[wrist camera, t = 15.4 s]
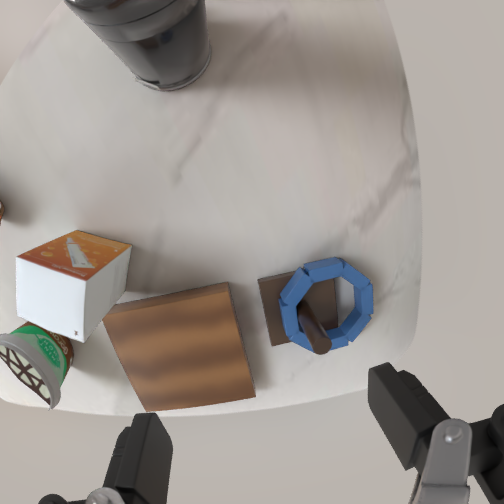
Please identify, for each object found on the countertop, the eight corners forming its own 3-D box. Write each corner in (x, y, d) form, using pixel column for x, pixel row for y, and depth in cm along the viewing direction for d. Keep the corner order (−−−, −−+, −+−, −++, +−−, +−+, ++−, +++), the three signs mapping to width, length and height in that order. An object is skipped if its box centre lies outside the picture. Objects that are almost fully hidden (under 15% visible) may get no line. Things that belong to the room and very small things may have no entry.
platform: (108, 305, 36) (100, 315, 33) (227, 281, 36) (228, 290, 33) (149, 398, 40) (146, 411, 37) (254, 383, 40) (256, 397, 37)
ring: (273, 270, 35) (276, 277, 33) (362, 250, 35) (370, 255, 33) (287, 350, 38) (290, 360, 35) (366, 329, 38) (373, 337, 36)
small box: (133, 243, 34) (87, 280, 21) (125, 292, 35) (85, 345, 23) (75, 228, 33) (14, 255, 20) (70, 275, 34) (16, 317, 22)
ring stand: (257, 279, 36) (269, 317, 26) (329, 262, 36) (363, 293, 27) (270, 341, 39) (283, 391, 29) (335, 325, 39) (365, 368, 29)
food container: (95, 352, 37) (69, 395, 27) (77, 372, 38) (51, 413, 28) (35, 292, 34) (-4, 322, 24) (20, 316, 35) (-15, 348, 25)
